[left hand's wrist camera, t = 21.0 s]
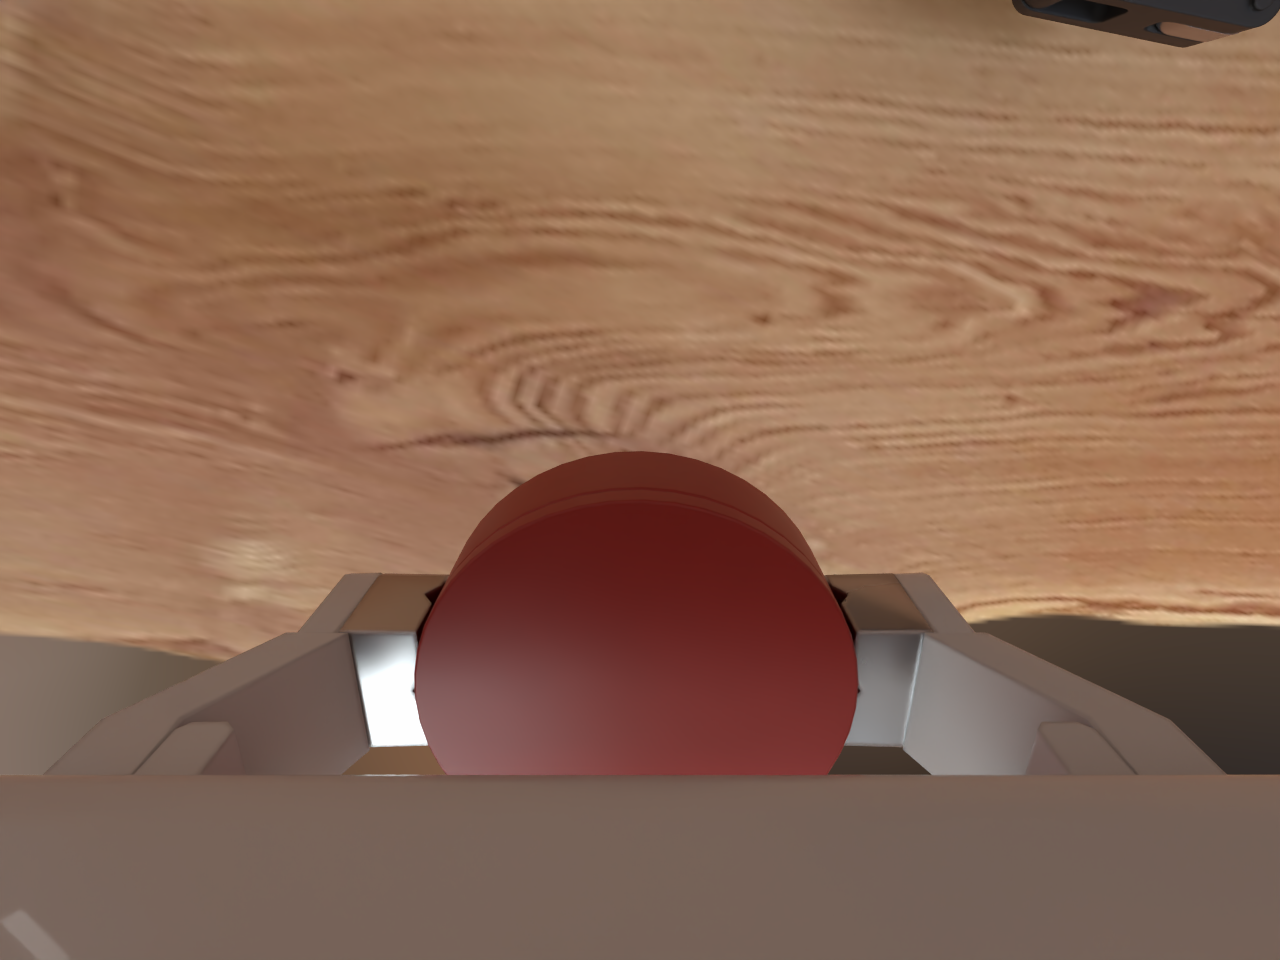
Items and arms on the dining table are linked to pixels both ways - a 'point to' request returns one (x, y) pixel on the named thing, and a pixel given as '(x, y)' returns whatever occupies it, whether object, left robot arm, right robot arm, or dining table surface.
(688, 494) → the lid
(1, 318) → the dining table surface
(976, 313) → the dining table surface
